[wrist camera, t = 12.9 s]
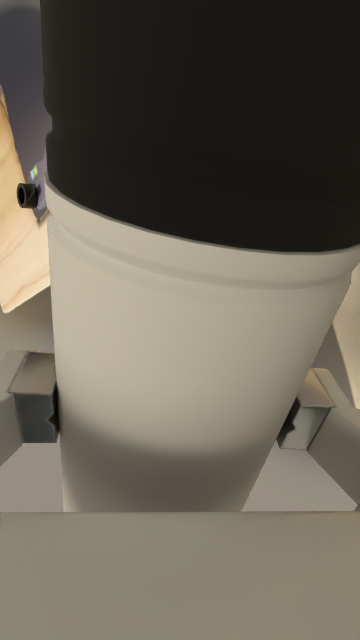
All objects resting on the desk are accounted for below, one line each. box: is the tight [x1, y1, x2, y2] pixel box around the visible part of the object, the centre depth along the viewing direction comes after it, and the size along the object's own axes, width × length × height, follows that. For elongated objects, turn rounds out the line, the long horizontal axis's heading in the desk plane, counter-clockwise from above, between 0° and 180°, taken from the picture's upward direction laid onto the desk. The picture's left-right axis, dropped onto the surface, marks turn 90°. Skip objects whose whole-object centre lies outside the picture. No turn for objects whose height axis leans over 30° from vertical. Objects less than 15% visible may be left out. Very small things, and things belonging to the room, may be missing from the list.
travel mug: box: [40, 0, 360, 512], centre depth 10 cm, size 6×7×20 cm
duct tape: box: [17, 183, 38, 208], centre depth 85 cm, size 8×10×3 cm
